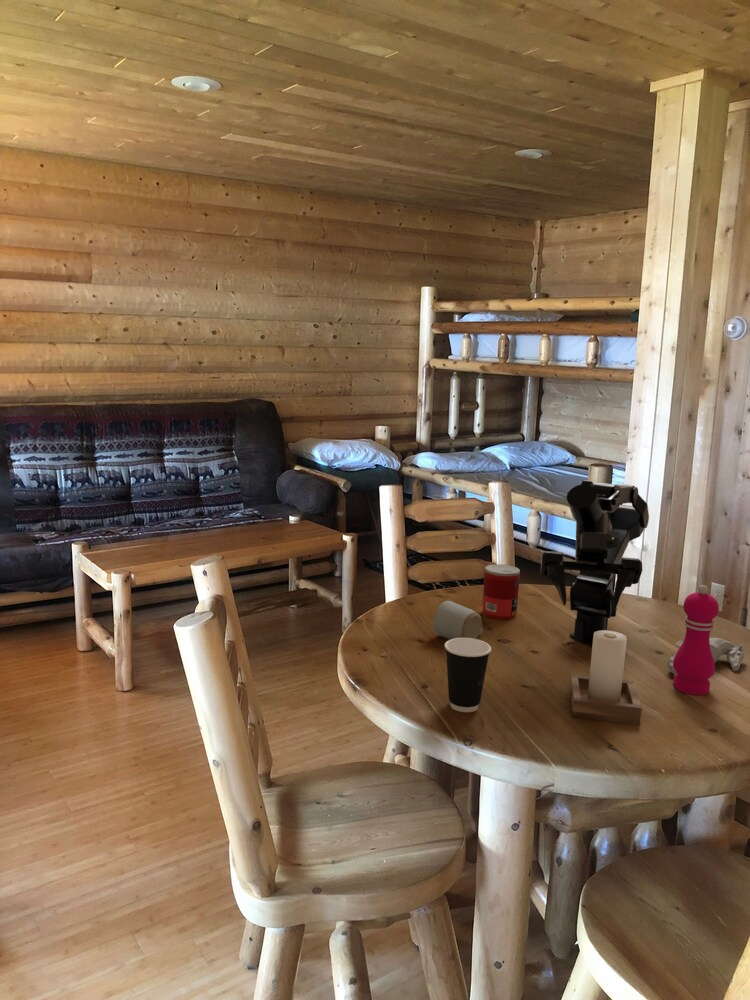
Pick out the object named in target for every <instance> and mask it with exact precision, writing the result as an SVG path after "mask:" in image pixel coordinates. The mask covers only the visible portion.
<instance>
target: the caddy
mask: <svg viewBox="0 0 750 1000" xmlns="http://www.w3.org/2000/svg"><path fill="white" fill-rule="evenodd" d="M589 676H590V675H578V674H570V679H569V698H570V707H571V714H572V718H579V719H587V720H596V721H604V722H605V721H606V722H614V723H623V724H629V725H630V724H631V725H638V726H639V725H641V719H642V718H641V717H642V708H643V707H642V704H641V701H640V698H639V695H638V692H637V689H636V685H635V682H634V680H633V681H632V680H625V679H622V688H621V698H620V703H619V702H610V701H601V700H592V699H587V697H588V687H589Z"/></svg>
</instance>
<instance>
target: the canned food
mask: <svg viewBox="0 0 750 1000" xmlns="http://www.w3.org/2000/svg"><path fill="white" fill-rule="evenodd" d="M520 575H521V572H520V569H519V568H518V567H516V566H514V565H509V564H503V563H502V564H501V563H500V564H499V563H497V564H496V563H495V564H489V565H486V566H485V569H484V576H483V594H482V613H483V615H484V616H486V617H488V618H491V619H495V620H510V619H513V618H515V617H516V616H517V612H518V600H519V590H520Z"/></svg>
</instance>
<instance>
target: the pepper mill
mask: <svg viewBox="0 0 750 1000" xmlns="http://www.w3.org/2000/svg"><path fill="white" fill-rule="evenodd" d="M682 605H683V607H682V608H683V611H684V613H685V614H686V615H685V617H684V623H683V624H684V626H686V627H685V630H686V631H685V634H684V635H685V636H684V639H683V640H684V641H683V643H682V645H681V646H680V647H678V650H677V651H676V652H675V653H676V655H675V657H674V661H673V667H674V669H675V671H676V672H677V674H676V675H675V676H674V675H673V676H674V677H673V687H674V688H675V689H676V690H678V691H679V692H682V693H684V694H688V695H693V696H704V695H707V694H708V693H710V689H711V682H710V678H712V677H713V676H714V674H715V673H716V671H715V670H716V665H715V664H716V663H714V658H713V655H712V653H711V649H710V643H709V638H711V637H710V635H711V631H712V630H714V628H715V627H714V624H715V621H714V619H715V618H716V617H717V616H718V614H719V610H720V605H719V602H718V600H717V598H715V597H714V596H713V595H711V594H709V588H708V586H707V585H704V584H701V585H699V586H698V587H697V592H693V593H690V594H688V595H687V596H686V598H685V599H684V602H683V604H682Z"/></svg>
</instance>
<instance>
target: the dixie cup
mask: <svg viewBox="0 0 750 1000" xmlns="http://www.w3.org/2000/svg"><path fill="white" fill-rule="evenodd" d="M444 649H445V651H446V653H445V654H446V671H447V672H446V673H447V674H446V675H447V687H448V688H447V690H448V691H447V692H448V693H447V694H448V701H449V703H450V704H449V706H450V707H451V709H453V710H455V711H457V712H461V713H472V712H473V713H474V712H475V711H477V710H478V707H479V705H480V703H481V700H482V694H483V690H484V688H483V687H484V683H485V677H486V673H487V666H488V661H489V656H490V653H491V651H492V646H490V644H489V643H487V642H486V641H483V640H481V639H478V638H477V639H473V638H455V639H448V640H447V641H446V642H445V643H444Z"/></svg>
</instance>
